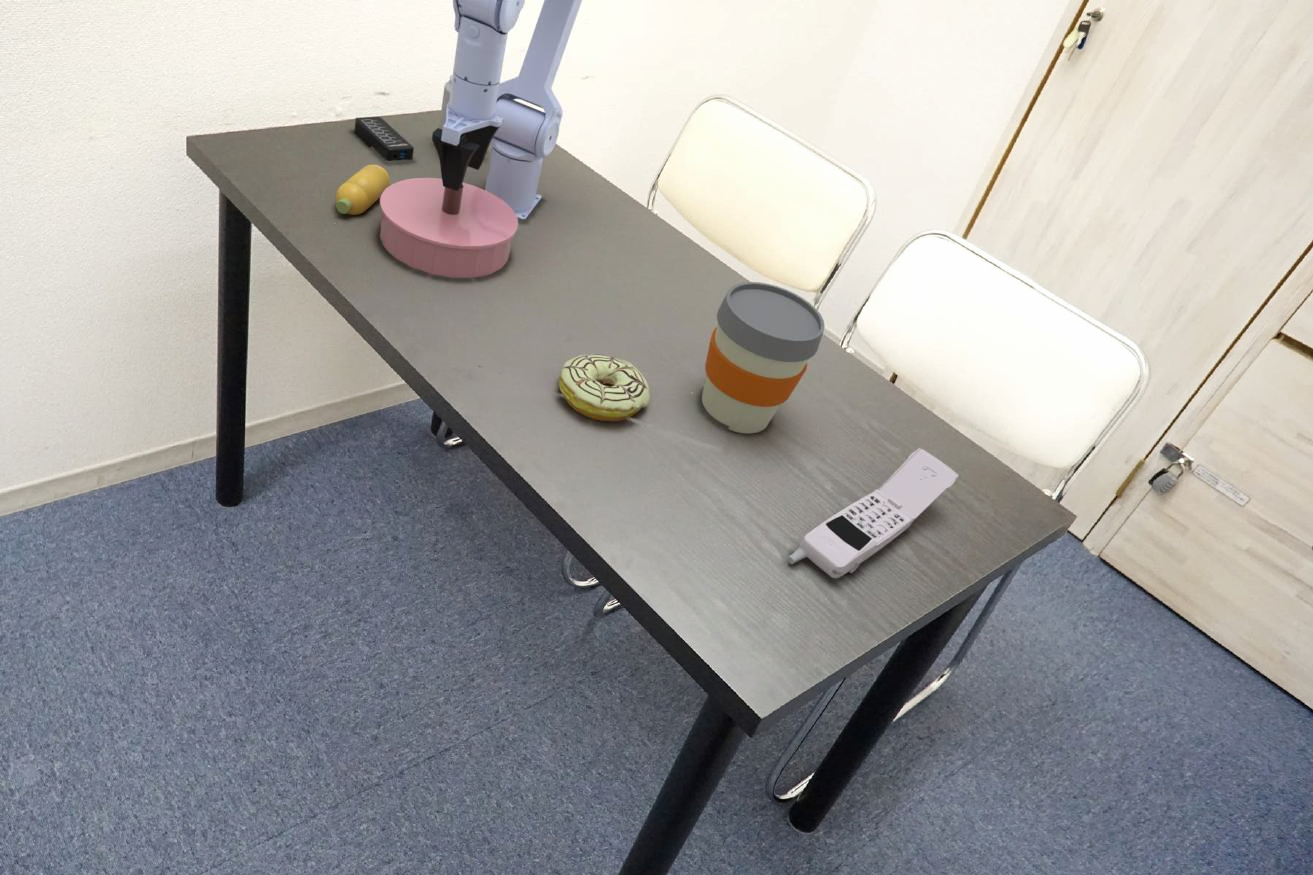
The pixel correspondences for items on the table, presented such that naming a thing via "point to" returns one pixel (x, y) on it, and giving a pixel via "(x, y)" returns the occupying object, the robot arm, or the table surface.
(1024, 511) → the table surface
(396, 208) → the lid
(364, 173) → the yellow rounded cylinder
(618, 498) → the table surface
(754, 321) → the reusable coffee cup
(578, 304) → the table surface
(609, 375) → the decorated donut
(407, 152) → the multiport hub
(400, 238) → the pot
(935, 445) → the table surface
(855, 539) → the mobile phone
